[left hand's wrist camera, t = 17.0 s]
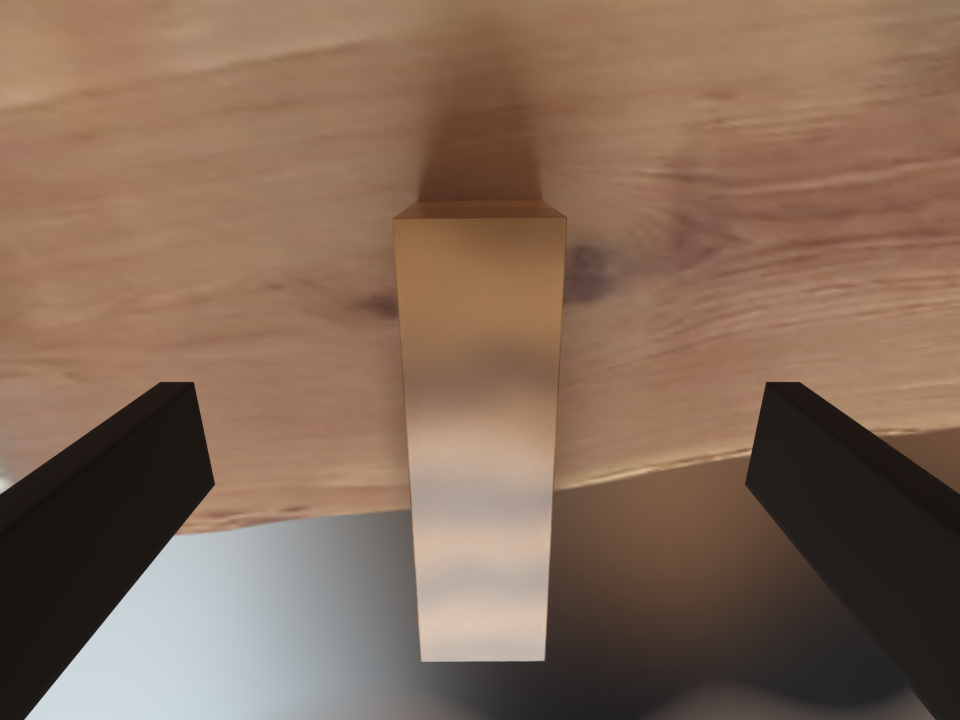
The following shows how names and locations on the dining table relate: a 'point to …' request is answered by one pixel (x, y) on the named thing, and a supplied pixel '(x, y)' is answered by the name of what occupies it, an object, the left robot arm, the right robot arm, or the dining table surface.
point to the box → (481, 419)
